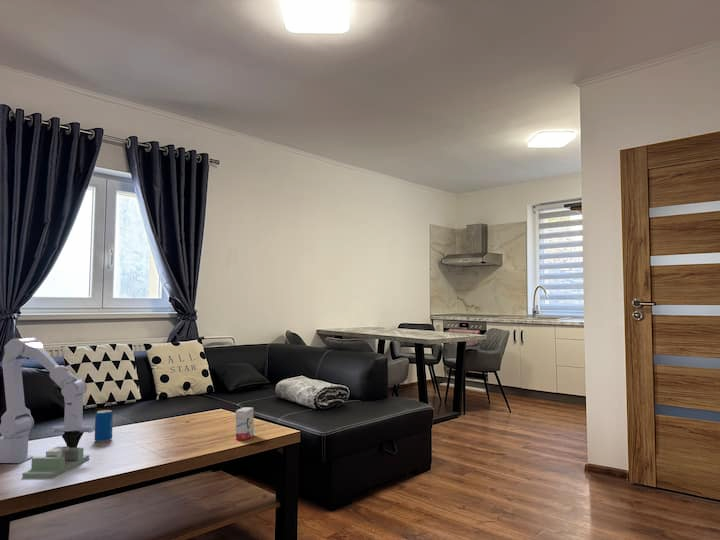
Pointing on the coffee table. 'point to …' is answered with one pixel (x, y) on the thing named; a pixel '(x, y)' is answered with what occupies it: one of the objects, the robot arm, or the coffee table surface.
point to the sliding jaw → (75, 453)
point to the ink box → (244, 423)
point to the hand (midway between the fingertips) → (72, 452)
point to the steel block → (58, 452)
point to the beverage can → (103, 425)
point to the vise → (51, 466)
